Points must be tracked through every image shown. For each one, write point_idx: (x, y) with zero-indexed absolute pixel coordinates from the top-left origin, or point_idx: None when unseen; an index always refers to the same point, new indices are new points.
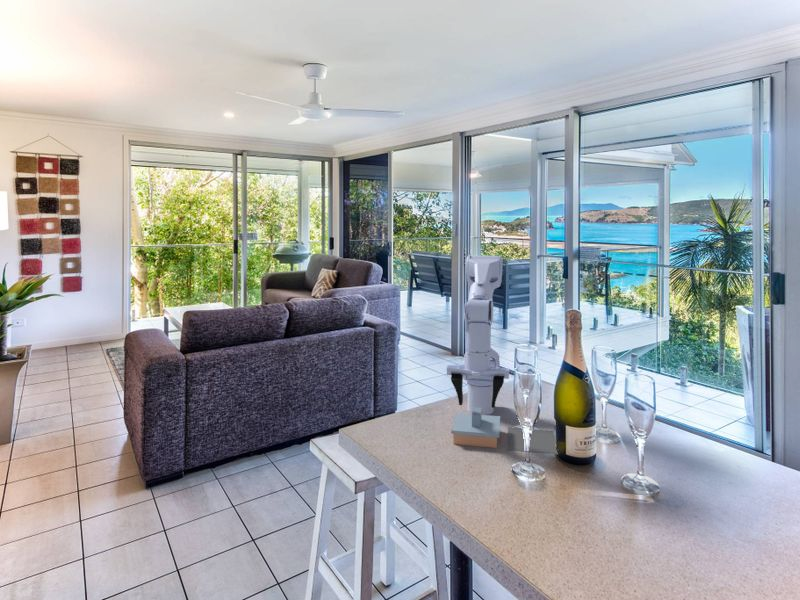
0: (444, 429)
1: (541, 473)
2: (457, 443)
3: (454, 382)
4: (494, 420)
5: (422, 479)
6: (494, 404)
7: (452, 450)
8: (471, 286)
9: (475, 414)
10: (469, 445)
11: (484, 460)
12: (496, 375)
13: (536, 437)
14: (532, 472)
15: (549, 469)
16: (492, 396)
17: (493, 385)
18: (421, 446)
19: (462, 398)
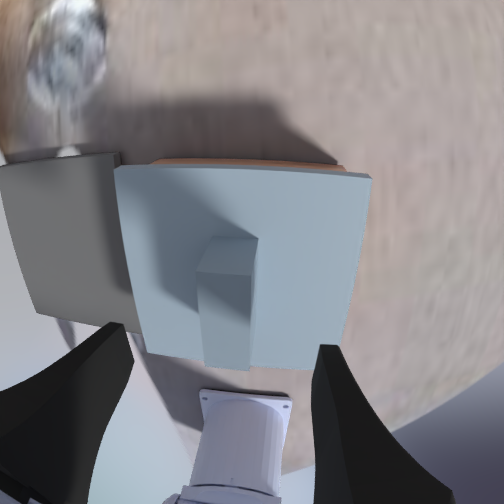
0: (368, 318)
1: (33, 53)
2: (327, 168)
3: (424, 490)
4: (159, 317)
5: None
6: (97, 331)
7: (345, 141)
8: None
9: (228, 282)
10: (271, 163)
11: (203, 72)
12: (12, 499)
13: (55, 270)
14: (52, 47)
15: (17, 87)
16: (117, 399)
17: (15, 424)
18: (462, 169)
19: (315, 396)
